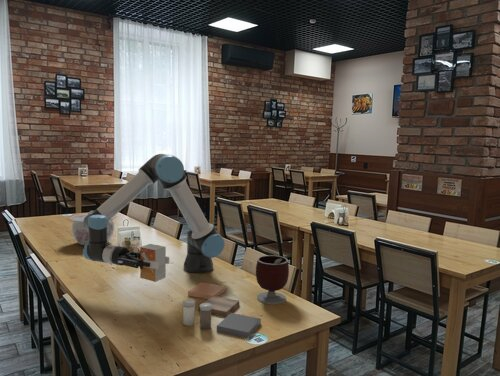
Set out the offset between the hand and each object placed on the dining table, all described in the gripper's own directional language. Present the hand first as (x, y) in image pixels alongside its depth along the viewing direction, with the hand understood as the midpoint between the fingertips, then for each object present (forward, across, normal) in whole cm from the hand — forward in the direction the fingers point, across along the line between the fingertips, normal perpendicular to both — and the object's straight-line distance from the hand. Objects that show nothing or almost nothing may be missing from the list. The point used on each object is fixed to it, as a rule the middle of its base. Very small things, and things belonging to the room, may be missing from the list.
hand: (163, 262), depth 166 cm
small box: (-5, 0, -7) cm, 9 cm away
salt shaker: (+17, +9, -18) cm, 26 cm away
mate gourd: (+37, -26, -18) cm, 49 cm away
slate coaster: (+35, +4, -18) cm, 39 cm away
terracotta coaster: (+9, -20, -18) cm, 28 cm away
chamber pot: (-92, -61, -18) cm, 112 cm away
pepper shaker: (+24, +9, -18) cm, 31 cm away
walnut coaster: (+21, -8, -18) cm, 29 cm away
